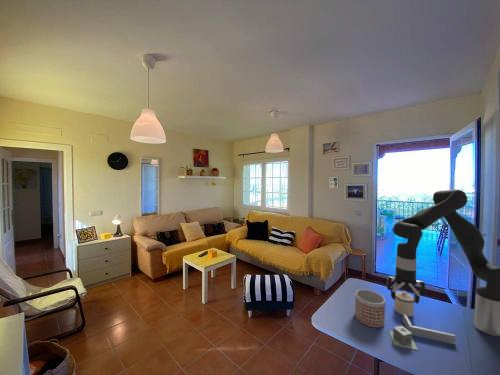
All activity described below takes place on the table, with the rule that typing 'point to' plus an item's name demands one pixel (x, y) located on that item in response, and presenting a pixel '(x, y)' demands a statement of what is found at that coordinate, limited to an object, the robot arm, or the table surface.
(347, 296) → the table surface
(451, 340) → the pen walls
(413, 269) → the robot arm
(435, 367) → the table surface
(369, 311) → the planter
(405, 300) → the teacup with lid
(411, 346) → the mat
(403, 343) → the dice cube
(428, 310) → the table surface
